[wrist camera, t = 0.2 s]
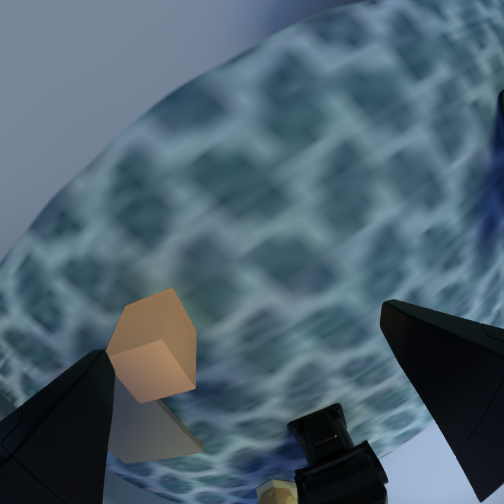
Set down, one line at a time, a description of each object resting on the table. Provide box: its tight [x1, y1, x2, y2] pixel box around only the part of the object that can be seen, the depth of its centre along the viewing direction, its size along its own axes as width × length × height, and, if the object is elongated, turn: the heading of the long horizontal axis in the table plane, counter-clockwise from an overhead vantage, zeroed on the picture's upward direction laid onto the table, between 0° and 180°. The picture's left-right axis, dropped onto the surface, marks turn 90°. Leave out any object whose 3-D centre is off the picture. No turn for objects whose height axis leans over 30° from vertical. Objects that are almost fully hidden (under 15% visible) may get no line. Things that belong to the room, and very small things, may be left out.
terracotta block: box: [106, 287, 197, 403], centre depth 20 cm, size 4×4×7 cm
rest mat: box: [108, 375, 204, 464], centre depth 27 cm, size 15×12×1 cm
